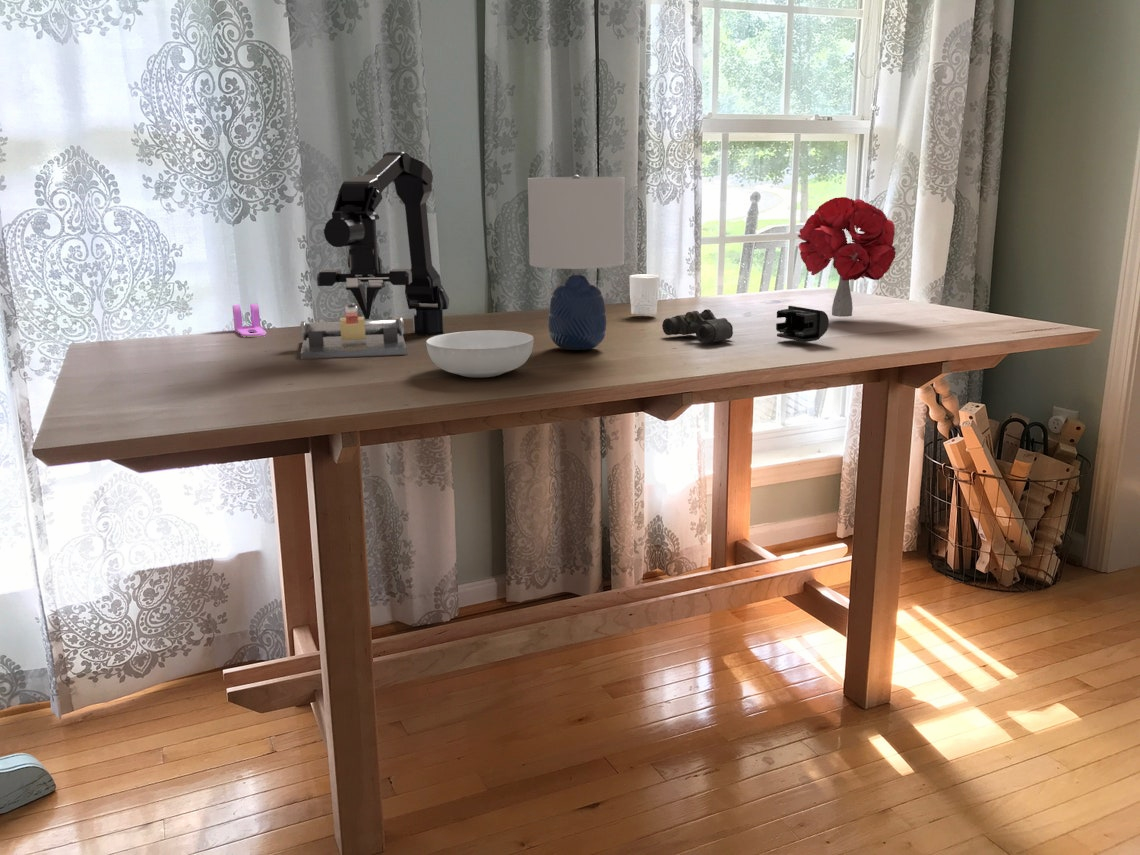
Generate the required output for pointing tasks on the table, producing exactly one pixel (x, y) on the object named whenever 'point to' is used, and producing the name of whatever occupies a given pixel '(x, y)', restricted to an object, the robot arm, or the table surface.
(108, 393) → the table surface
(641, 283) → the white cup
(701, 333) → the binoculars
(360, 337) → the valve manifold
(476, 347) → the serving bowl
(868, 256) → the bouquet
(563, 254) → the lamp
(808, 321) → the end cap
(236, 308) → the bracket
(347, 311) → the lever
